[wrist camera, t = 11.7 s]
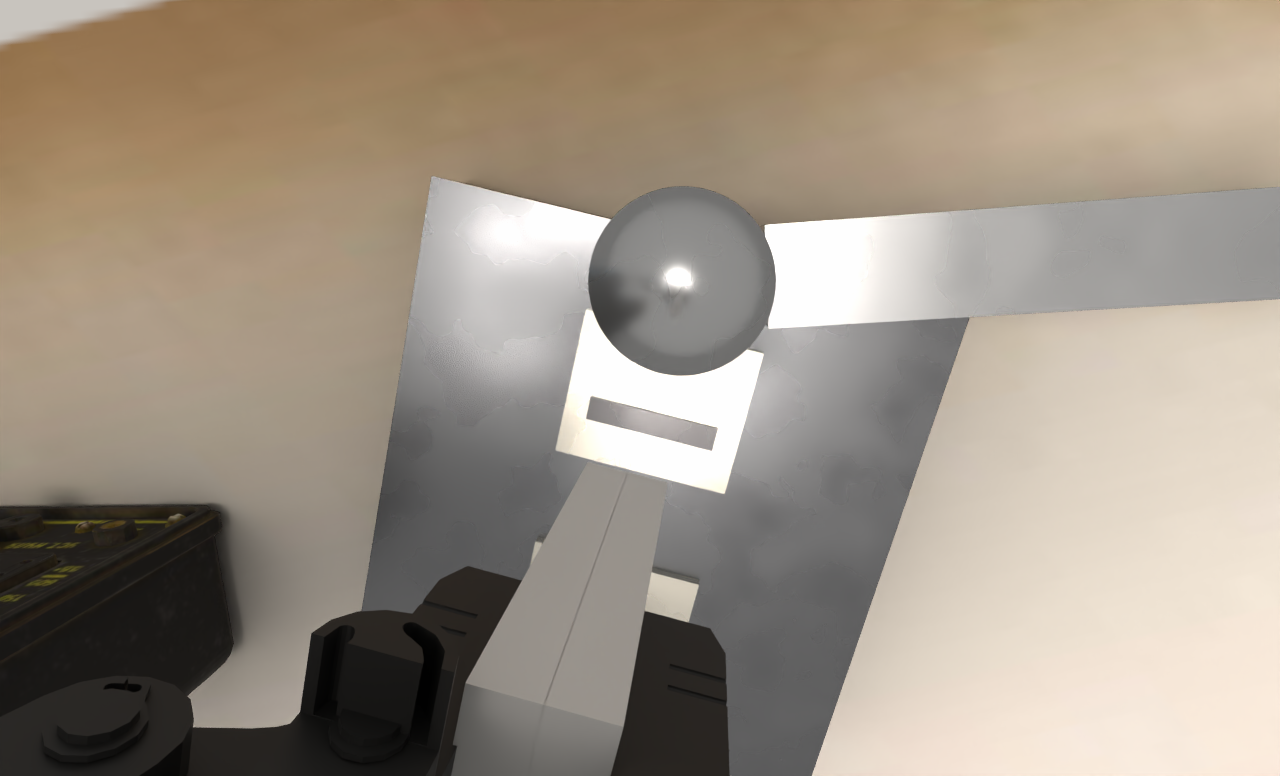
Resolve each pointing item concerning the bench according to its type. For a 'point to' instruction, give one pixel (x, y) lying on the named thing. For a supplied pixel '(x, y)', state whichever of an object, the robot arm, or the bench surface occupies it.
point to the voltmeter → (109, 597)
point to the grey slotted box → (654, 457)
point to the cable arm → (911, 266)
